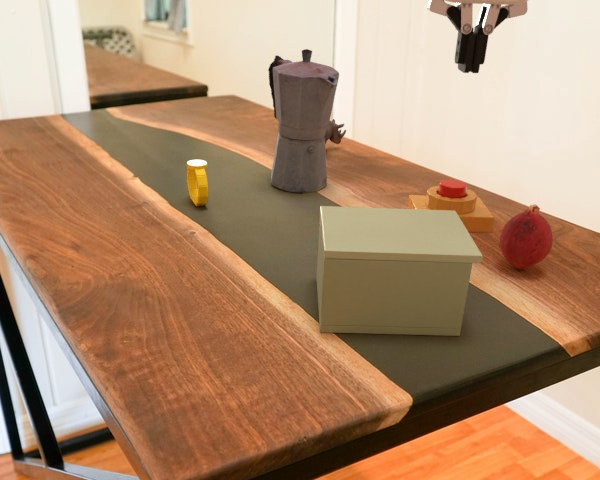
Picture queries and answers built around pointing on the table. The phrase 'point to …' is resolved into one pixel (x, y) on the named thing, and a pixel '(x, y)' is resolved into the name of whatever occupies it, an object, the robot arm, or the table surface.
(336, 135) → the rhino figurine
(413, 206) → the button block
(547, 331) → the table surface
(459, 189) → the button
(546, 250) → the onion
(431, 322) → the chest
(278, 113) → the moka pot
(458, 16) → the robot arm
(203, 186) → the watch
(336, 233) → the chest lid
